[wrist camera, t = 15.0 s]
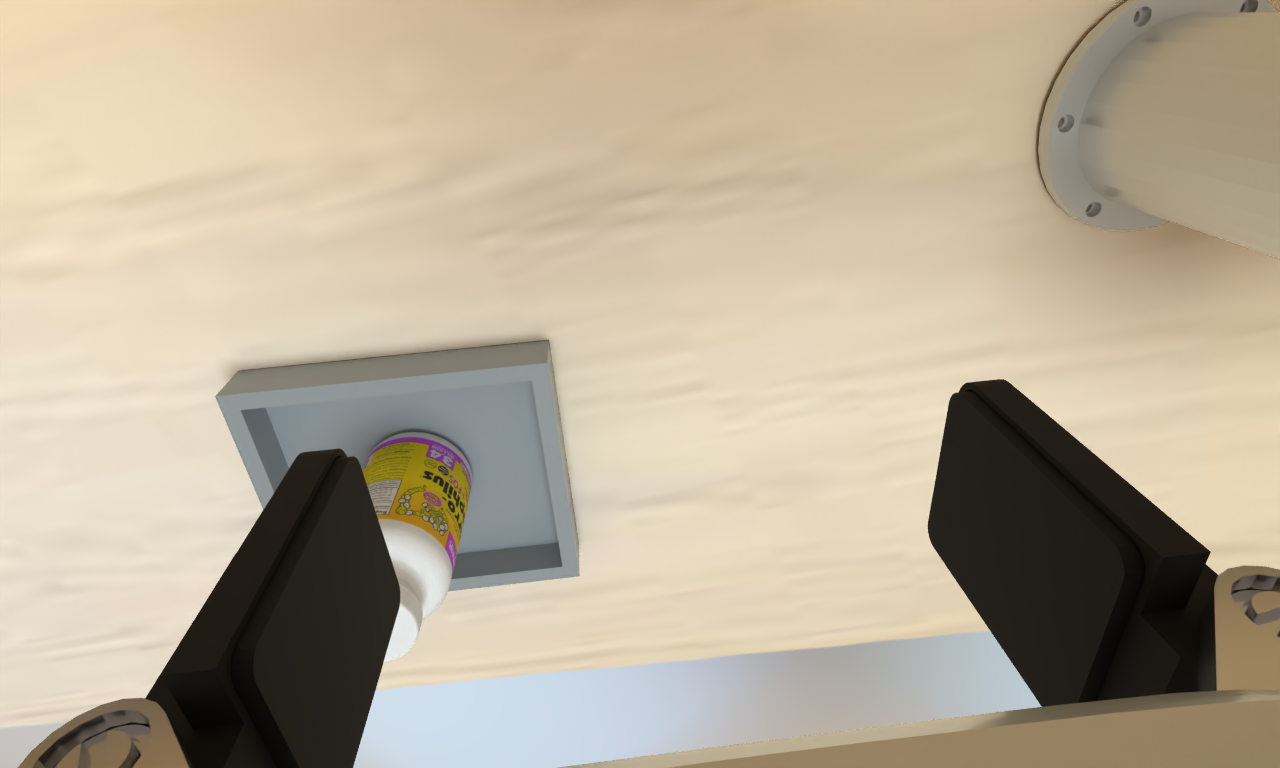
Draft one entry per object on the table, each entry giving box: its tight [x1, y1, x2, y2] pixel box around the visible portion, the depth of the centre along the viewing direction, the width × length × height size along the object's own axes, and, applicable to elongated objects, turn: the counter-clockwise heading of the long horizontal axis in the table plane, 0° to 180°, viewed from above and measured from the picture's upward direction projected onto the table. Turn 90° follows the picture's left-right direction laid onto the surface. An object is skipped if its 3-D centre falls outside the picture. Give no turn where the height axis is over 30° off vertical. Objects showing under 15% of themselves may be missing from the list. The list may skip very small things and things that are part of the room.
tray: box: [215, 340, 579, 591], centre depth 42 cm, size 18×16×3 cm
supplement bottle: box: [362, 432, 472, 663], centre depth 38 cm, size 7×7×13 cm
